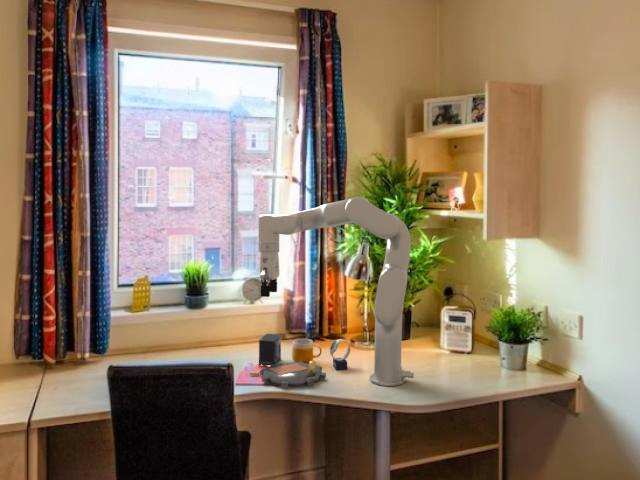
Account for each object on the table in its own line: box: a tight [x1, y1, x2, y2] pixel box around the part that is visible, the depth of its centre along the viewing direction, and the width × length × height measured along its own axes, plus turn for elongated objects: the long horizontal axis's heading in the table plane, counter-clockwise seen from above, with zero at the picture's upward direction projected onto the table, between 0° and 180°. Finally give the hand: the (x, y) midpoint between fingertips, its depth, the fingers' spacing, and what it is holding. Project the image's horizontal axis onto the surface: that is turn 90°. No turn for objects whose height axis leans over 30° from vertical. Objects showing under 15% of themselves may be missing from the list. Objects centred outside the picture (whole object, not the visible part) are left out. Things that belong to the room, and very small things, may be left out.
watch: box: [328, 338, 351, 371], centre depth 213 cm, size 6×8×11 cm
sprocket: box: [259, 360, 327, 389], centre depth 202 cm, size 24×24×7 cm
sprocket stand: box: [249, 370, 260, 376], centre depth 203 cm, size 21×10×1 cm, turn 79°
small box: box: [258, 333, 282, 366], centre depth 220 cm, size 11×6×10 cm, turn 168°
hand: (269, 294), depth 204 cm, fingers open, 9 cm apart
